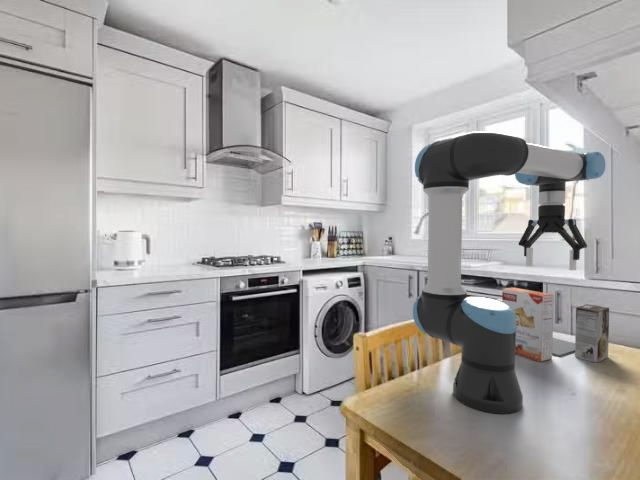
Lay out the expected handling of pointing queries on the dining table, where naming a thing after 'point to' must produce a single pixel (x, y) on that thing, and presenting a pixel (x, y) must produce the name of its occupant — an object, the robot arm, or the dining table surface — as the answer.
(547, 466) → the dining table surface
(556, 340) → the mat
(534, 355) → the cracker box
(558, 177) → the robot arm
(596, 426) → the dining table surface
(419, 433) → the dining table surface
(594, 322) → the coffee box
